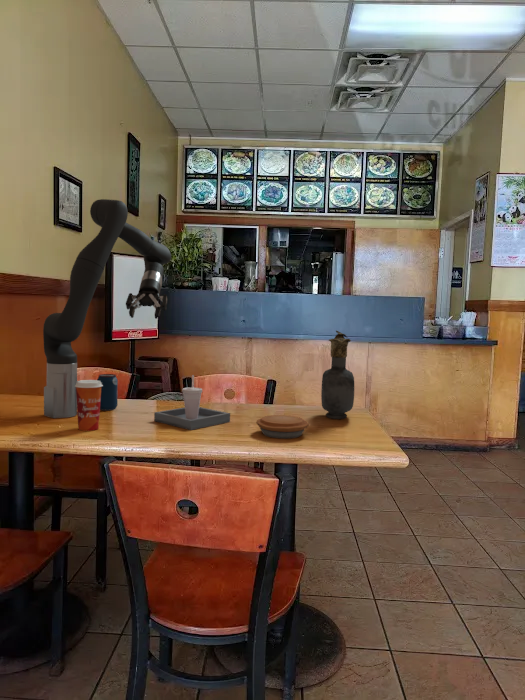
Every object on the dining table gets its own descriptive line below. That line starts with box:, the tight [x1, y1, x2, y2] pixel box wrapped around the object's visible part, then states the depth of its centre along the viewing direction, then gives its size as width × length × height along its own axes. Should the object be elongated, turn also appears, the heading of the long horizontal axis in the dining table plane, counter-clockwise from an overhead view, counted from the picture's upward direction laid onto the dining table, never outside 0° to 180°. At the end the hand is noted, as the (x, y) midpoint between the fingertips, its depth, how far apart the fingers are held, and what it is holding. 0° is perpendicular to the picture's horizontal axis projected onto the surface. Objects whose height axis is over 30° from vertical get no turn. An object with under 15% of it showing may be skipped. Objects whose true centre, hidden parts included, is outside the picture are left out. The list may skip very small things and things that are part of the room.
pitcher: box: [320, 330, 355, 420], centre depth 182 cm, size 11×19×30 cm, turn 176°
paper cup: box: [75, 379, 103, 432], centre depth 153 cm, size 8×8×14 cm
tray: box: [153, 406, 231, 431], centre depth 167 cm, size 17×17×3 cm
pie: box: [255, 414, 310, 440], centre depth 154 cm, size 15×16×5 cm
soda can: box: [96, 373, 119, 411], centre depth 183 cm, size 7×7×12 cm
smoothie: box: [181, 374, 203, 420], centre depth 167 cm, size 6×6×14 cm
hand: (143, 316), depth 184 cm, fingers open, 8 cm apart
